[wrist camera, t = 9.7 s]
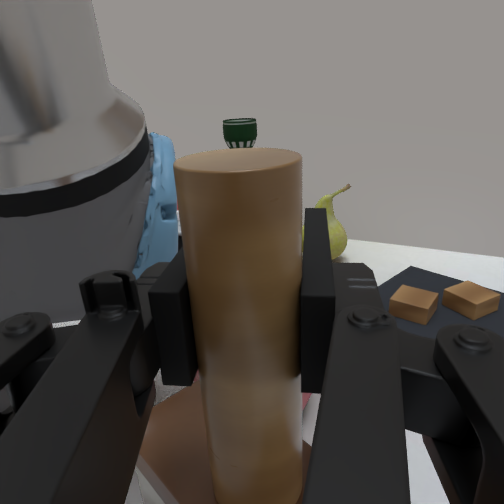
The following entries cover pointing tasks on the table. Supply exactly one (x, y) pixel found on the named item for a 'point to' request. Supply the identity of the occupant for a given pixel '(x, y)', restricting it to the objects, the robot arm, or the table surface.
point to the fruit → (332, 225)
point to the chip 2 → (471, 300)
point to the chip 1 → (413, 304)
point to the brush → (236, 338)
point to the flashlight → (240, 132)
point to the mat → (426, 280)
